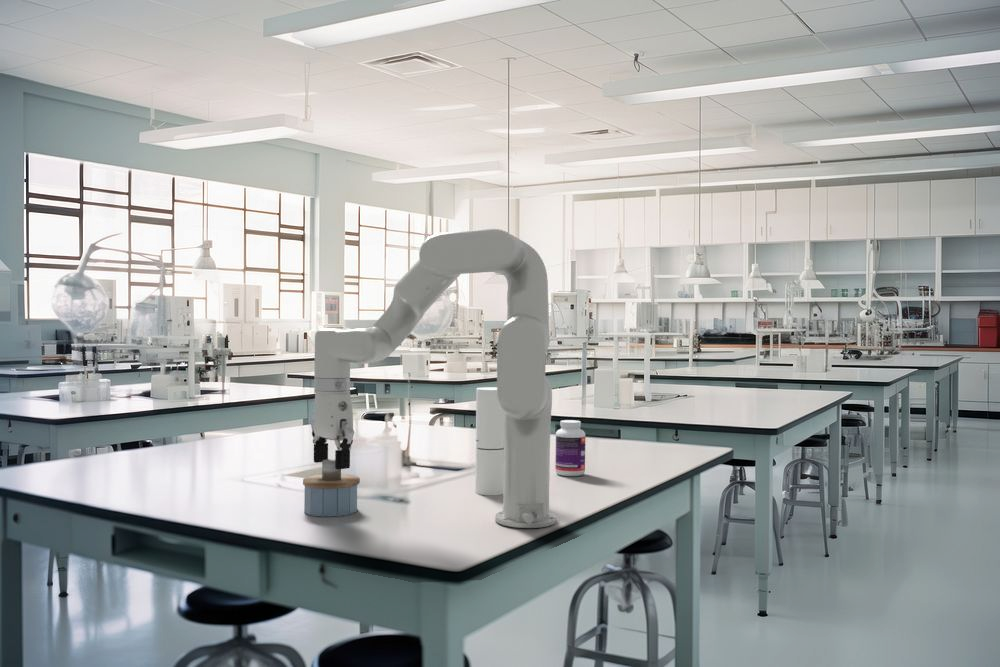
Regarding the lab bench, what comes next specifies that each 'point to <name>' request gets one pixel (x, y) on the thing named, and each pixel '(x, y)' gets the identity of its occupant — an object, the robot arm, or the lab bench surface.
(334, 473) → the lid
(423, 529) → the lab bench surface
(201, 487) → the lab bench surface
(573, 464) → the pill bottle
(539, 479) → the robot arm
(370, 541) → the lab bench surface
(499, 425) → the cylindrical container
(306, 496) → the bowl
